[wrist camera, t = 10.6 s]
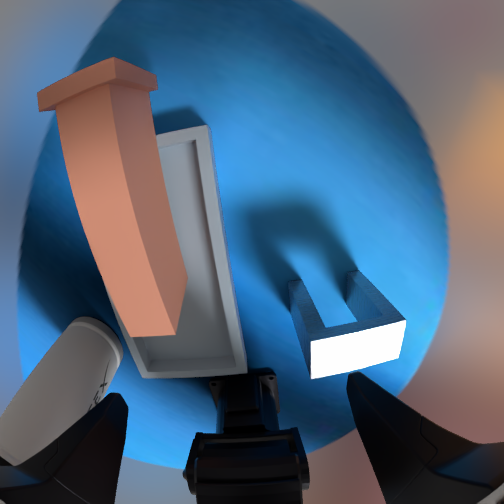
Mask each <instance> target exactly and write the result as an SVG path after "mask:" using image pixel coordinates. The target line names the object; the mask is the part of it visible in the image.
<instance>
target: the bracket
mask: <svg viewBox="0 0 504 504" xmlns="http://www.w3.org/2000/svg"><path fill="white" fill-rule="evenodd" d="M288 286H289V299H290V314H291V317H292V320H293V323H294V326H295V329H296V333H297V336H298V339H299V342H300V345H301V349H302V352H303V355H304V358H305V361H306V365H307V368H308V371H309V374H310V378H311V379H314V378H319V377H324V376H329V375H334V374H338V373H343V372H347V371H351V370H355V369H359V368H363V367H367V366H371V365H374V364H378V363H381V362H385V361H388V360H391V359H395V358H398V357H399V352H400V348H401V344H402V339H403V334H404V329H405V324H406V319H405V318H404V317H403V316H402V315H401V314H400V313H399V311H398V310H397V309H396V308H395V307H394V306H393V305H392V304H391V303H390V302H389V301H388V300H387V299H386V298H385V297H384V295H383V294H382V293H381V292H380V291H379V290H378V289H377V288H376V287H375V286H374V285H373V284H372V283H371V282H370V281H369V280H368V279H367V278H366V277H365V276H364V275H363V274H362V273H361V272H360V271H359V270H358V271H352V272H347V292H346V305H347V306H348V308H349V309H350V311H351V312H352V314H353V315H354V317H355V318H356V319H357V321H358V322H353V323H348V324H343V325H338V326H333V327H328V328H325V325H324V323H323V321H322V319H321V317H320V315H319V313H318V311H317V309H316V307H315V305H314V303H313V301H312V299H311V297H310V295H309V293H308V291H307V289H306V287H305V285H304V283H303V281H302V279H301V280H294V281H288Z"/></svg>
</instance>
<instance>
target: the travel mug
mask: <svg viewBox="0 0 504 504" xmlns="http://www.w3.org/2000/svg"><path fill="white" fill-rule="evenodd" d="M122 358H123V349H122V345H121V343H120V341H119V339H118V337H117V336H116V334H115V333H114V332H113V331H112V330H111V329H110V328H109V327H108V326H107V325H105V324H104V323H102V322H101V321H99V320H97V319H94V318H91V317H79V318H76V319H75V320H73V321H72V322H71V324H70V325H69V326H68V327H67V329H66V330H65V331H64V332H63V333H62V334H61V336H60V337H59V338H58V339H57V340H56V342H55V343H54V344H53V345H52V347H51V348H50V349H49V350H48V352H47V353H46V354H45V355H44V357H43V358H42V359H41V361H40V362H39V363H38V364H37V366H36V367H35V368H34V370H33V371H32V372H31V374H30V375H29V376H28V378H27V379H26V381H25V382H24V383H23V385H22V386H21V388H20V389H19V391H18V392H17V393H16V395H15V396H14V398H13V399H12V401H11V402H10V404H9V405H8V407H7V408H6V410H5V411H4V413H3V414H2V416H1V417H0V466H16V465H19V464H21V463H23V462H24V461H26V460H27V459H29V458H30V457H32V456H33V455H35V454H36V453H38V452H39V451H41V450H42V449H44V448H45V447H46V446H48V445H49V444H50V443H51V442H53V441H54V440H55V439H56V438H58V437H59V436H60V435H61V434H62V433H63V432H65V431H66V430H67V429H68V428H69V427H71V426H72V425H73V424H74V423H75V422H76V421H78V420H79V419H80V418H81V417H82V416H84V415H85V414H86V413H87V412H88V411H89V410H91V409H92V408H93V407H94V406H95V405H97V404H98V403H99V402H100V401H101V400H102V399H103V398H104V396H105V393H106V391H107V389H108V387H109V385H110V383H111V381H112V379H113V377H114V374H115V372H116V370H117V368H118V366H119V364H120V362H121V360H122Z"/></svg>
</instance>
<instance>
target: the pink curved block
mask: <svg viewBox="0 0 504 504" xmlns="http://www.w3.org/2000/svg"><path fill="white" fill-rule="evenodd" d="M154 90H158V86H157V78H156V75H155V74H153V73H150V72H148V71H146V70H144V69H142V68H139V67H137V66H135V65H133V64H130V63H128V62H126V61H123V60H121V59H118V58H116V57H111V58H109V59H106V60H103V61H101V62H98V63H96V64H94V65H91V66H89V67H87V68H84V69H82V70H80V71H78V72H75V73H73V74H71V75H69V76H67V77H65V78H63V79H61V80H59V81H57V82H55V83H53V84H52V85H50V86H48V87H46V88H44V89H43V90H41V91H39V92H38V93H37V97H38V106H39V112H41V111H51V110H56V115H57V122H58V128H59V134H60V140H61V145H62V150H63V155H64V159H65V164H66V168H67V172H68V176H69V180H70V184H71V188H72V192H73V195H74V199H75V202H76V206H77V209H78V212H79V215H80V219H81V222H82V225H83V228H84V231H85V234H86V237H87V239H88V242H89V245H90V248H91V250H92V253H93V256H94V258H95V261H96V263H97V266H98V268H99V271H100V273H101V276H102V278H103V280H104V283H105V285H106V287H107V290H108V292H109V294H110V296H111V298H112V301H113V303H114V305H115V307H116V309H117V311H118V313H119V315H120V317H121V319H122V321H123V323H124V325H125V327H126V329H127V331H128V333H129V335H130V337H146V336H165V335H176V331H177V326H178V321H179V316H180V312H181V307H182V302H183V298H184V293H185V289H186V285H187V280H188V276H187V272H186V269H185V265H184V261H183V258H182V254H181V250H180V246H179V242H178V238H177V234H176V230H175V226H174V222H173V218H172V213H171V209H170V205H169V200H168V196H167V191H166V186H165V182H164V177H163V172H162V167H161V162H160V157H159V151H158V146H157V140H156V135H155V129H154V123H153V116H152V110H151V103H150V96H149V92H150V91H154Z"/></svg>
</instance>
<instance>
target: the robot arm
mask: <svg viewBox="0 0 504 504" xmlns="http://www.w3.org/2000/svg"><path fill="white" fill-rule="evenodd" d="M270 377H271V378H270ZM209 387H210V390H211V393H212V395H213V398H214V401H215V404H216V407H217V424H216V433H203V432H196V435H195V439H193V442H192V446H191V449H190V453H189V456H188V460H187V464H186V467H185V469H184V471H183V477H184V478H185V479H186V480H187V482H188V487H189V490H190V492H191V494H193V495H196V500H197V504H303V499H302V490H307V489H309V483H310V476H309V467H308V461H307V457H306V453H305V450H304V447H303V444H302V441H301V438H300V434H299V431H298V428H297V427H294V428H291V429H285V430H279V424H278V417H277V414H278V413H279V412H280V406H279V397H278V387H277V378H276V374H275V373H274V372H268V373H260V374H252V375H243V376H233V377H221V378H211V379H210V380H209ZM346 389H347V395H348V398H349V402H350V406H351V410H352V413H353V417H354V421H355V424H356V427H357V430H358V432H359V434H360V437H361V440H362V442H363V445H364V447H365V449H366V452H367V454H368V457H369V459H370V462H371V464H372V467H373V470H374V472H375V475H376V477H377V480H378V483H379V485H380V488H381V491H382V493H383V496H384V499H385V501H386V504H504V442H498V443H488V444H480V443H475V442H472V441H469V440H467V439H465V438H463V437H461V436H459V435H457V434H454V433H452V432H450V431H448V430H446V429H444V428H442V427H441V426H439V425H437V424H435V423H434V422H432V421H430V420H429V419H427V418H426V417H424V416H421V414H420V413H418V412H417V411H415V410H414V409H412V408H411V407H409V406H408V405H406V404H405V403H404V402H402V401H401V400H399V399H398V398H396V397H395V396H394V395H392V394H391V393H389V392H388V391H386V390H385V389H384V388H382V387H381V386H379V385H378V384H376V383H375V382H374V381H372V380H371V379H369V378H368V377H367V376H365V375H364V374H362V373H361V372H359V371H357V372H353V373H350V374H349V375H348V380H347V388H346ZM127 419H128V406H127V404H126V402H125V401H124V399H123V397H122V396H121V394H119V393H109V394H108V395H107V396H106V397H105V398H104V399H102V400H101V401H100V402H99V403H98V404H97V405H95V406H94V407H93V408H92V409H91V410H89V411H88V412H87V413H86V414H85V415H84V416H82V417H81V418H80V419H79V420H78V421H76V422H75V423H74V424H73V425H72V426H71V427H69V428H68V429H67V430H66V431H65V432H63V433H62V434H61V435H60V436H59V437H58V438H56V439H55V440H54V441H53V442H51V443H50V444H49V445H48V446H46V447H45V448H44V449H42V450H41V451H39V452H38V453H36V454H35V455H33V456H32V457H30V458H29V459H27V460H26V461H24V462H23V463H21V464H19V465H16V466H0V504H114V502H115V496H116V489H117V483H118V477H119V471H120V466H121V460H122V455H123V450H124V445H125V439H126V429H127Z"/></svg>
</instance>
